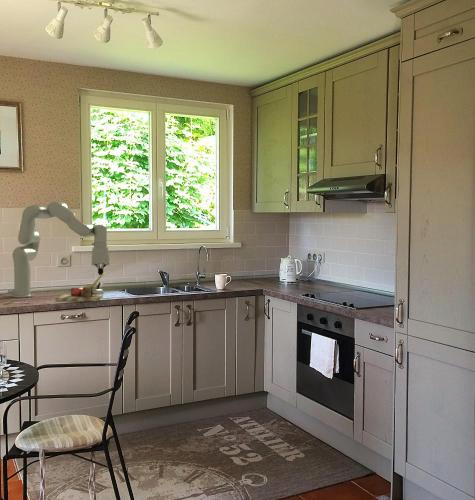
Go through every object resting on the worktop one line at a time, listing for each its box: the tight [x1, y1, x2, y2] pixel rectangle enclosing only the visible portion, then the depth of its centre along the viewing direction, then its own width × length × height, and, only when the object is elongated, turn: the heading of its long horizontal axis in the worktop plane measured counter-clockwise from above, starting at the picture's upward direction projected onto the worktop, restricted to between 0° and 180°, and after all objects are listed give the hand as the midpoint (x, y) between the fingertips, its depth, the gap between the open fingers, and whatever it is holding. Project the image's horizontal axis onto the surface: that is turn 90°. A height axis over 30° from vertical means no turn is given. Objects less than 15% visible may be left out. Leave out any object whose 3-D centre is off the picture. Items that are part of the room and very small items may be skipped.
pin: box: [70, 287, 105, 296], centre depth 345 cm, size 19×5×5 cm, turn 93°
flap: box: [91, 271, 107, 287], centre depth 345 cm, size 1×10×11 cm
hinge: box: [94, 281, 104, 295], centre depth 366 cm, size 17×5×10 cm, turn 9°
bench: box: [56, 284, 104, 302], centre depth 345 cm, size 25×14×8 cm, turn 94°
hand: (100, 274), depth 345 cm, fingers closed
